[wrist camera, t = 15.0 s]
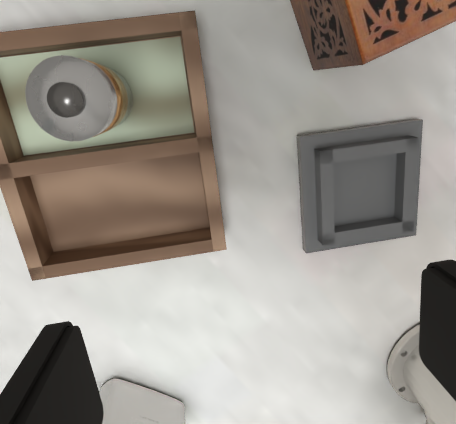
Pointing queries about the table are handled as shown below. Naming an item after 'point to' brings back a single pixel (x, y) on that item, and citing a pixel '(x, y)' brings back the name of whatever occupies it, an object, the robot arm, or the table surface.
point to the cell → (77, 97)
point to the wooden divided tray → (112, 152)
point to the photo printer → (138, 405)
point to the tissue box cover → (365, 27)
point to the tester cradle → (359, 184)
